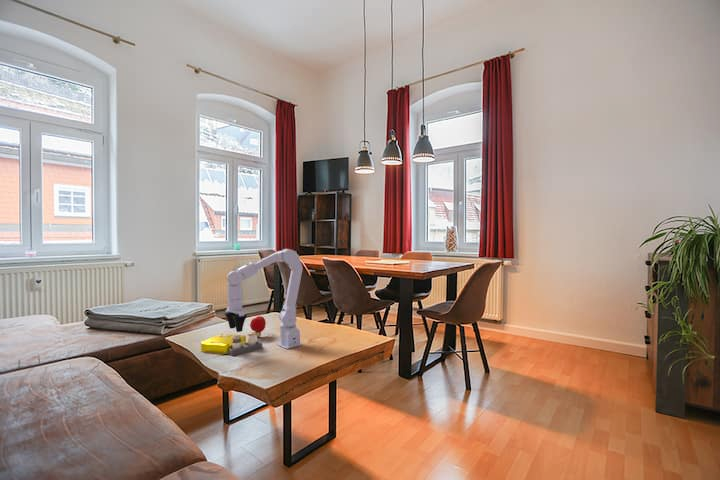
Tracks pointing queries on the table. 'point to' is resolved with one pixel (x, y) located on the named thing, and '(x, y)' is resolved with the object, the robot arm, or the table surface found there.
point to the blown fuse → (236, 342)
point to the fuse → (251, 338)
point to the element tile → (219, 343)
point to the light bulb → (258, 325)
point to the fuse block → (244, 348)
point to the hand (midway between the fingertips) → (236, 329)
